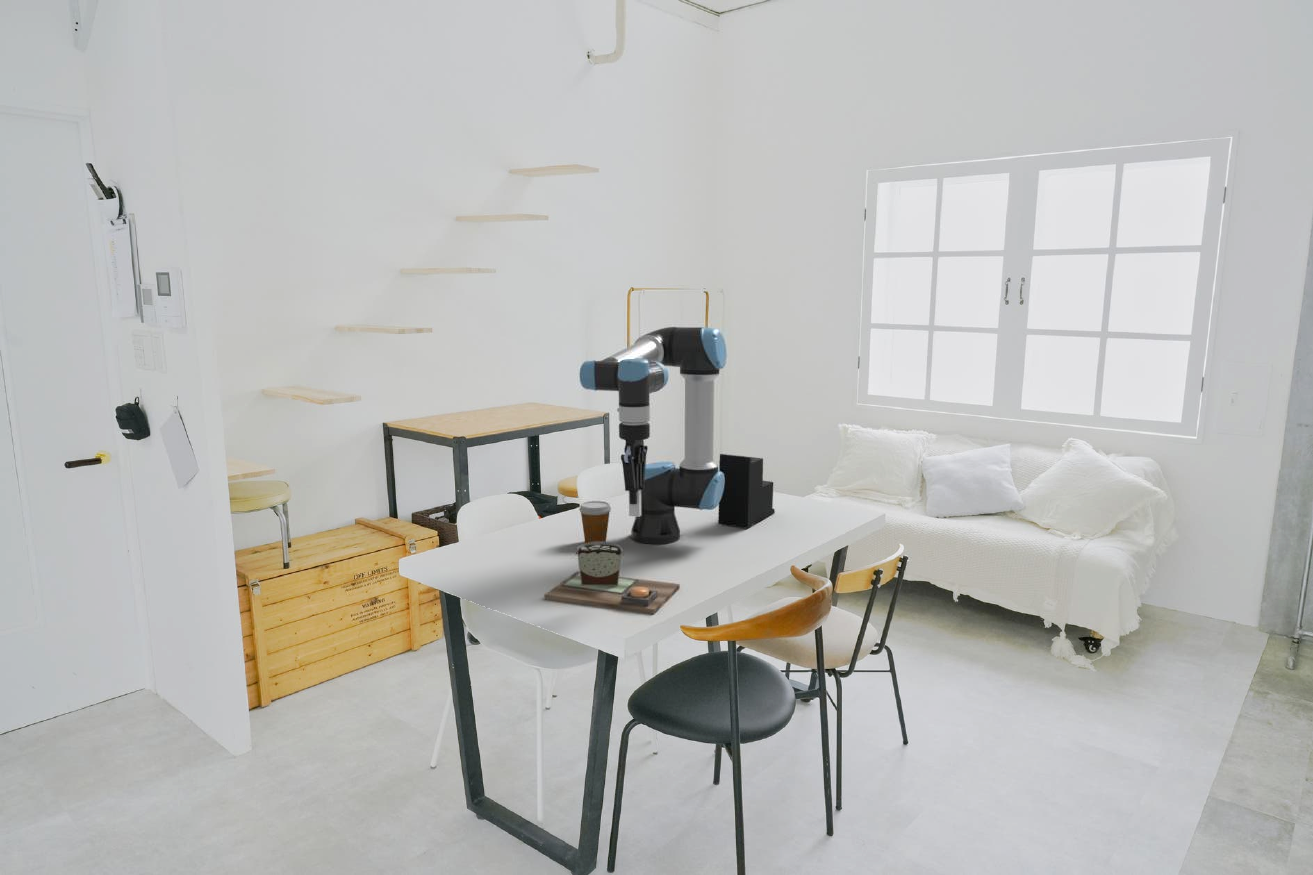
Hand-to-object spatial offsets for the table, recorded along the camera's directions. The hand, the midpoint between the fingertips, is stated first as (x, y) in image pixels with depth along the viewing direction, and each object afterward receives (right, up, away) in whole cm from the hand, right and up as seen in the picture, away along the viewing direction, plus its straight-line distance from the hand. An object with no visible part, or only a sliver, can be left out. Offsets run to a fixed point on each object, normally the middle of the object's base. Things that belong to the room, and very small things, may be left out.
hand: (635, 515), depth 218 cm
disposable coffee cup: (-13, -13, +47) cm, 50 cm away
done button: (+1, -20, -5) cm, 20 cm away
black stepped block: (+36, -8, +75) cm, 83 cm away
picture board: (-6, -20, +3) cm, 21 cm away
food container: (-9, -18, +8) cm, 22 cm away
